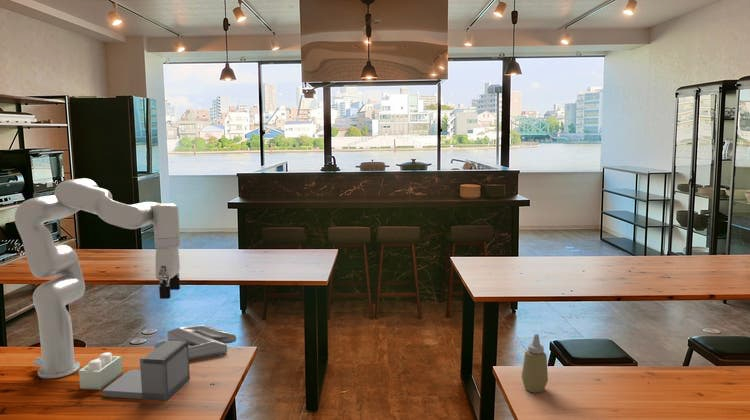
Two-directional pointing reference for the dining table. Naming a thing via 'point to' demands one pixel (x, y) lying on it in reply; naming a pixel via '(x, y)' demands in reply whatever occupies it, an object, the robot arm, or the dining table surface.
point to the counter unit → (155, 374)
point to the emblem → (201, 340)
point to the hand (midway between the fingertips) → (170, 293)
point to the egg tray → (100, 371)
